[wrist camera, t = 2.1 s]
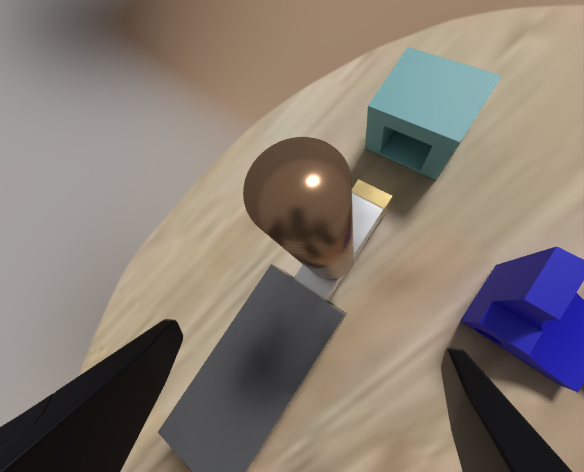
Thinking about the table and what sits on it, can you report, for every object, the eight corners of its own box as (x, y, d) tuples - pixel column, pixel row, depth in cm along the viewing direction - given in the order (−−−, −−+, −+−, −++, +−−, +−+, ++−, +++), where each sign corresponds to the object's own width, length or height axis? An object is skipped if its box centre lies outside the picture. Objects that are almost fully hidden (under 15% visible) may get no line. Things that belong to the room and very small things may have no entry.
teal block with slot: (435, 180, 20) (460, 142, 16) (365, 148, 22) (368, 105, 18) (469, 128, 21) (502, 75, 16) (396, 101, 23) (407, 47, 18)
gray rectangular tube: (251, 464, 18) (222, 506, 14) (196, 407, 20) (157, 432, 16) (346, 313, 19) (344, 315, 16) (287, 272, 21) (271, 264, 17)
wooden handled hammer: (250, 429, 18) (25, 693, 6) (219, 398, 19) (-35, 567, 7) (391, 211, 20) (452, 46, 7) (355, 192, 21) (355, 19, 8)
